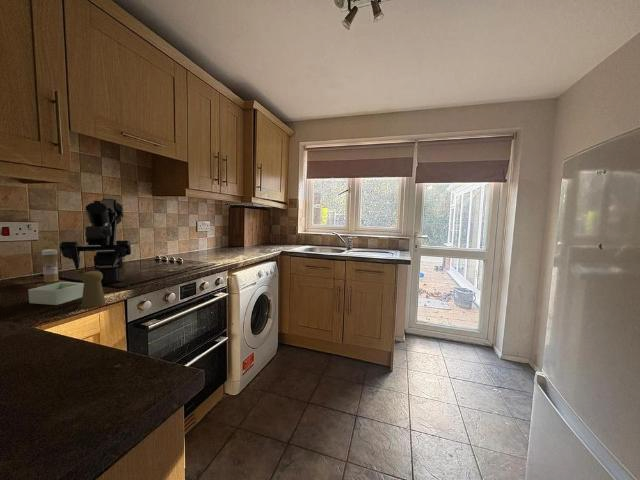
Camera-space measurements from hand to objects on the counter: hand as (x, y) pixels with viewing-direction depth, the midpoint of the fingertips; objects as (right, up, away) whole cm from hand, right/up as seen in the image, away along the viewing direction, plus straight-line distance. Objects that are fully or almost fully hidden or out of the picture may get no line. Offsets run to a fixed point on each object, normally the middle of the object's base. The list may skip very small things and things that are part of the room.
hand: (95, 268), depth 88 cm
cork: (+2, -12, -3) cm, 12 cm away
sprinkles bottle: (-38, -8, +23) cm, 46 cm away
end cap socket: (-13, -11, +2) cm, 17 cm away
